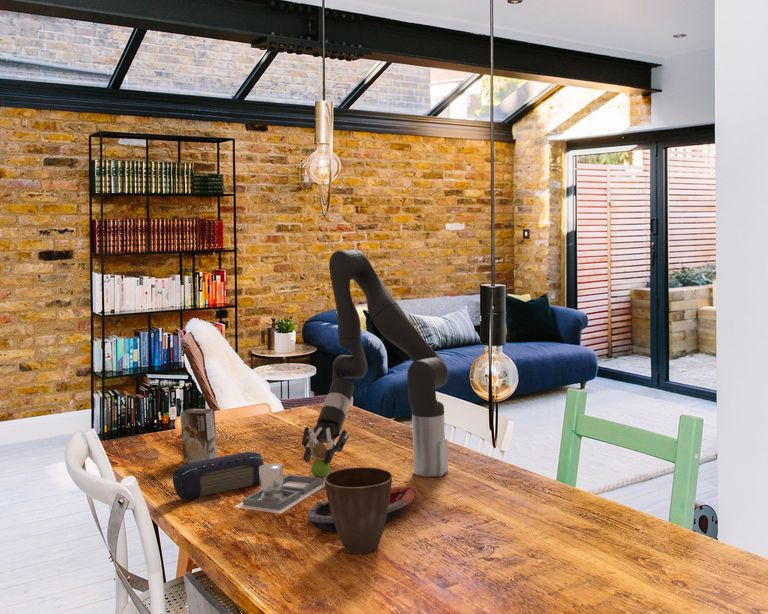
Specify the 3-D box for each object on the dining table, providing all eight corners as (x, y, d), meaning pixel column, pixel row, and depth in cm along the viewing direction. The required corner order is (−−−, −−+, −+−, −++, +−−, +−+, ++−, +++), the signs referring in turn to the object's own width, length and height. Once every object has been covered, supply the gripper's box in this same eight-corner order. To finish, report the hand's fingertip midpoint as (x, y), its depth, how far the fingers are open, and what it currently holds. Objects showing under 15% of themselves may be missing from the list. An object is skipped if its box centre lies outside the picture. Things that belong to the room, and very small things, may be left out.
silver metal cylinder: (288, 498, 199) (286, 464, 198) (275, 506, 194) (274, 471, 193) (268, 496, 202) (267, 462, 201) (255, 503, 196) (254, 469, 195)
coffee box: (218, 458, 245) (215, 408, 243) (209, 464, 238) (206, 413, 237) (192, 457, 247) (189, 408, 245) (182, 463, 241) (179, 412, 239)
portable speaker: (183, 508, 199) (180, 470, 198) (170, 498, 207) (168, 462, 206) (271, 488, 213) (269, 453, 212) (256, 480, 221) (254, 445, 220)
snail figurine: (316, 474, 224) (313, 433, 223) (334, 476, 221) (332, 435, 220) (304, 479, 220) (302, 438, 219) (323, 482, 216) (321, 440, 215)
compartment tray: (331, 487, 212) (330, 476, 212) (281, 519, 189) (280, 507, 188) (287, 482, 218) (287, 471, 218) (233, 512, 194) (233, 501, 194)
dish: (294, 523, 186) (293, 503, 186) (399, 497, 203) (398, 478, 202) (325, 543, 173) (325, 521, 173) (434, 513, 190) (434, 493, 190)
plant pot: (312, 548, 170) (310, 478, 168) (362, 529, 180) (360, 462, 179) (358, 567, 159) (356, 492, 158) (408, 546, 170) (406, 475, 168)
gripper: (308, 403, 228) (288, 453, 219) (351, 406, 223) (333, 457, 213) (317, 417, 234) (299, 466, 224) (360, 420, 228) (343, 470, 218)
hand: (316, 461), depth 218 cm, fingers closed on snail figurine, 5 cm apart
